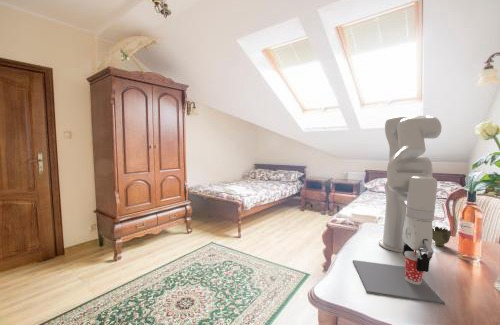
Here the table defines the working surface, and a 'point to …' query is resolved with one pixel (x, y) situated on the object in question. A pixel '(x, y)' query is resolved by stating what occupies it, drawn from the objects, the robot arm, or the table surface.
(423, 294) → the mat
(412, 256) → the beverage cup
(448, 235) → the cup
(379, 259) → the table surface
